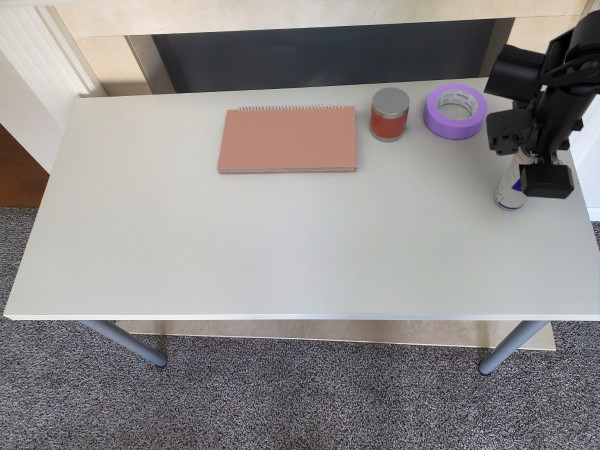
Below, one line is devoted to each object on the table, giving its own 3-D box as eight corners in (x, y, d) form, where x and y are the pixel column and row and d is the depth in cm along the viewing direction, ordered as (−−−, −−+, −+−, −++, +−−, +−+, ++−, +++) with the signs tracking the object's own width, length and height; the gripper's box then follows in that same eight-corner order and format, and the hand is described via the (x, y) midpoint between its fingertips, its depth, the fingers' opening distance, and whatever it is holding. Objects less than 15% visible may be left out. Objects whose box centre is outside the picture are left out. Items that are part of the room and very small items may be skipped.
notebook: (354, 108, 94) (355, 101, 93) (356, 172, 86) (356, 165, 84) (229, 111, 97) (227, 105, 95) (219, 174, 89) (217, 168, 87)
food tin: (405, 117, 92) (410, 87, 85) (404, 143, 89) (409, 115, 82) (371, 115, 93) (373, 86, 86) (368, 141, 90) (370, 113, 83)
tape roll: (478, 96, 93) (483, 82, 90) (486, 139, 87) (492, 126, 84) (421, 97, 94) (424, 83, 91) (425, 140, 89) (428, 127, 85)
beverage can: (520, 215, 78) (554, 163, 65) (490, 208, 80) (517, 155, 67) (525, 193, 80) (558, 138, 68) (496, 186, 82) (523, 130, 69)
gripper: (494, 57, 65) (468, 129, 79) (504, 157, 57) (473, 219, 70) (575, 59, 64) (535, 132, 77) (598, 163, 55) (548, 225, 68)
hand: (521, 174), depth 73 cm, fingers closed on beverage can, 5 cm apart
